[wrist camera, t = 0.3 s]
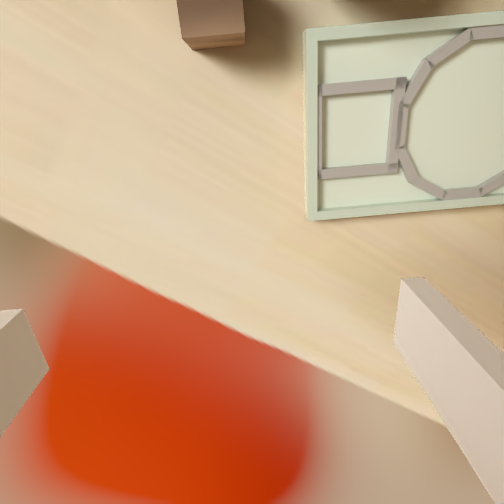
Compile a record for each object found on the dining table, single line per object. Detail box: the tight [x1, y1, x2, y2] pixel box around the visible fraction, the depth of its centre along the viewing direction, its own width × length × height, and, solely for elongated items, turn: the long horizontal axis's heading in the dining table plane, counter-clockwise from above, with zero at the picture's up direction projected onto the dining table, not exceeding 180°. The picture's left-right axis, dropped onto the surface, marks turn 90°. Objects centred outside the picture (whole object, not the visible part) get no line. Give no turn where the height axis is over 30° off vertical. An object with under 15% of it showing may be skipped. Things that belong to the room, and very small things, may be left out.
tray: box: [302, 10, 504, 221], centre depth 33 cm, size 18×26×2 cm
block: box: [177, 0, 245, 50], centre depth 27 cm, size 5×5×6 cm
